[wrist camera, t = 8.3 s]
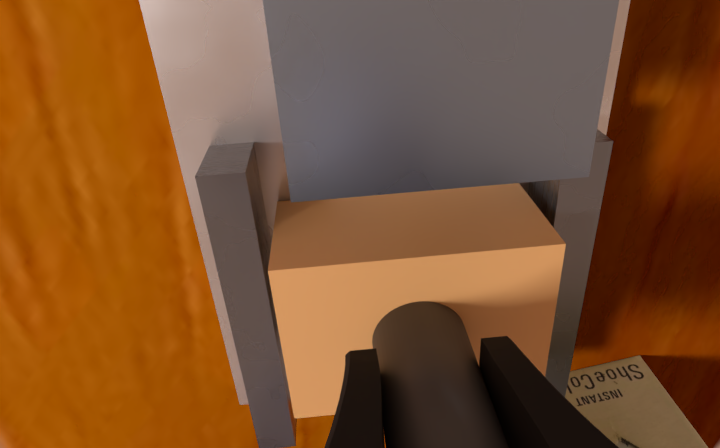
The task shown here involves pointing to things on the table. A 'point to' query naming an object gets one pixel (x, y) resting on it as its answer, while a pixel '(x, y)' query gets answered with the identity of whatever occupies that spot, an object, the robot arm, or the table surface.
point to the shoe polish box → (630, 406)
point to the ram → (414, 302)
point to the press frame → (270, 184)
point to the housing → (436, 92)
